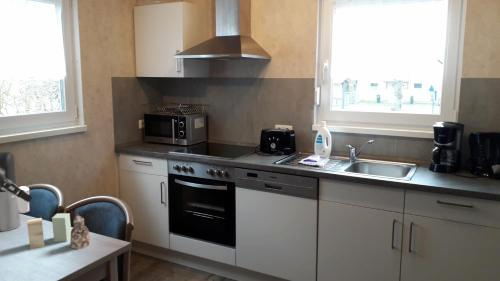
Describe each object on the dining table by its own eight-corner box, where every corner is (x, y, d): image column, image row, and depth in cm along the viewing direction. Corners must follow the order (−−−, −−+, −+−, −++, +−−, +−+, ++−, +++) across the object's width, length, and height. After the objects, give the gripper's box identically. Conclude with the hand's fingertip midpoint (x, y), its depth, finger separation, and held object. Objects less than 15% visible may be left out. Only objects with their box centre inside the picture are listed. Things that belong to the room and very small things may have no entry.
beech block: (29, 244, 162) (27, 220, 160) (44, 241, 164) (41, 217, 162) (30, 248, 157) (27, 224, 155) (44, 246, 160) (42, 222, 158)
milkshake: (15, 210, 147) (12, 183, 145) (32, 208, 149) (29, 182, 147) (13, 214, 143) (10, 187, 141) (30, 212, 144) (27, 185, 143)
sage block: (59, 236, 168) (56, 213, 167) (71, 236, 169) (69, 213, 167) (54, 241, 164) (51, 218, 162) (66, 241, 164) (64, 217, 162)
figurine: (70, 250, 156) (67, 220, 154) (70, 242, 163) (68, 214, 160) (90, 247, 159) (88, 217, 156) (90, 239, 165) (87, 211, 163)
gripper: (0, 166, 132) (42, 193, 143) (-14, 159, 141) (27, 185, 152) (-17, 185, 129) (27, 212, 140) (-30, 177, 139) (13, 202, 150)
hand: (27, 198), depth 146 cm, fingers closed on milkshake, 4 cm apart
